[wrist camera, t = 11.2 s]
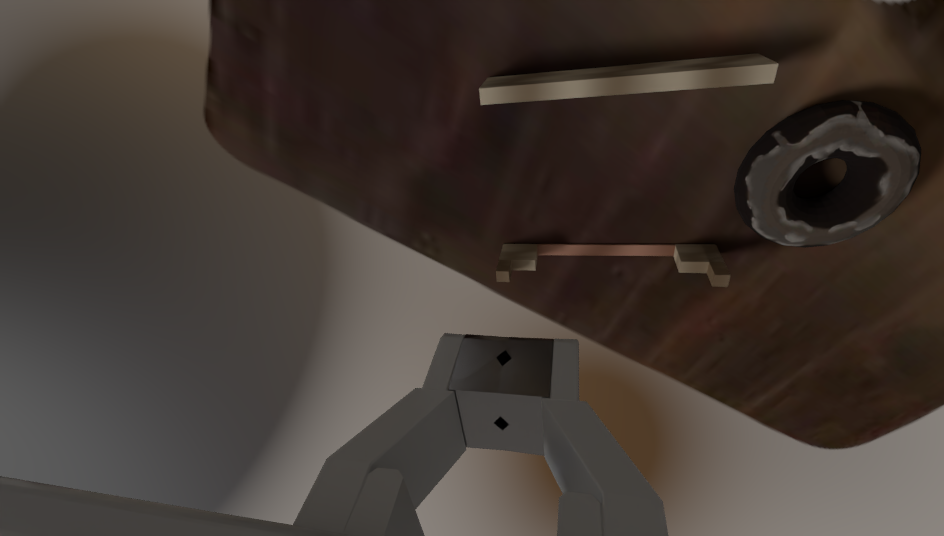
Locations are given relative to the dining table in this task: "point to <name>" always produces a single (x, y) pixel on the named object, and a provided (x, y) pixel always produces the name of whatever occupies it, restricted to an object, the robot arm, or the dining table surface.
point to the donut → (818, 138)
